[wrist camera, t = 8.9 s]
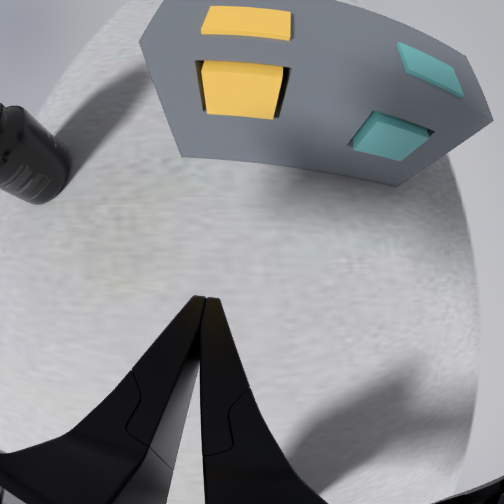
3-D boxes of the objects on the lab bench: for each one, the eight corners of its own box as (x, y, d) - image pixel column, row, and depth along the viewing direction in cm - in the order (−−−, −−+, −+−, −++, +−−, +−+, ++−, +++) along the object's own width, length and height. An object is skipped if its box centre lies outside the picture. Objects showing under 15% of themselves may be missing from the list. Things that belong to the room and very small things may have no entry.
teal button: (400, 161, 18) (429, 138, 14) (353, 150, 18) (377, 121, 14) (394, 123, 19) (419, 96, 15) (350, 110, 18) (370, 79, 14)
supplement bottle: (79, 141, 23) (16, 73, 11) (64, 205, 22) (-22, 157, 10) (34, 148, 22) (-30, 97, 10) (19, 207, 21) (-59, 171, 9)
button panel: (396, 186, 24) (496, 118, 10) (181, 156, 23) (137, 37, 9) (391, 134, 24) (467, 54, 11) (193, 103, 24) (171, -16, 10)
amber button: (273, 119, 16) (282, 77, 12) (207, 114, 15) (201, 71, 12) (275, 79, 16) (284, 37, 12) (216, 74, 16) (213, 31, 12)
